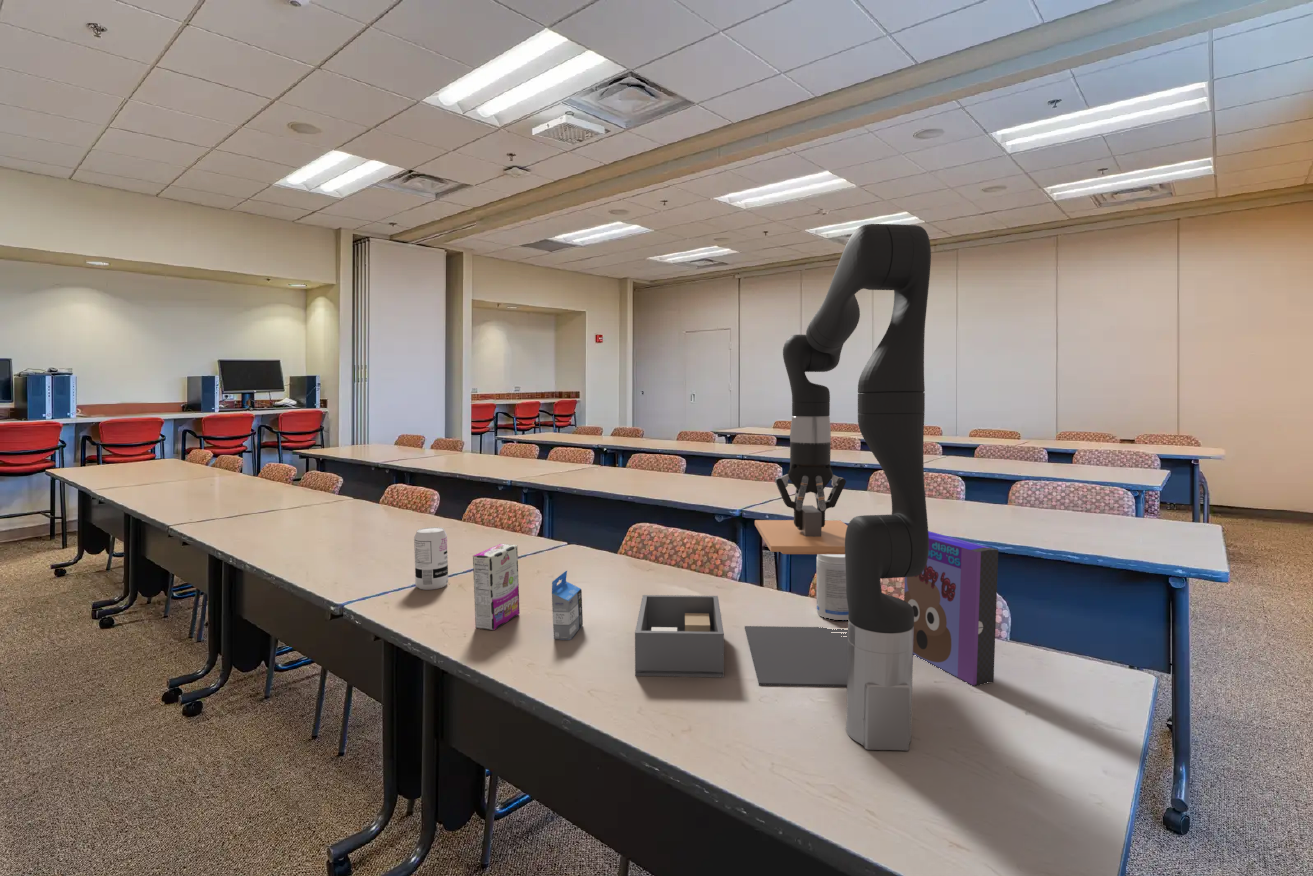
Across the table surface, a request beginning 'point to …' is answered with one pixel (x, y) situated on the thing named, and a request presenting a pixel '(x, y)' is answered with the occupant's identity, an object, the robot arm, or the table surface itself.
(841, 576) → the supplement tub
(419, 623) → the table surface
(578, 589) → the label tape box
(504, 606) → the candy bar box
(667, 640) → the storage box
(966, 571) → the cereal box
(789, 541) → the lid
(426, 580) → the supplement can
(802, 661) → the rubber mat
